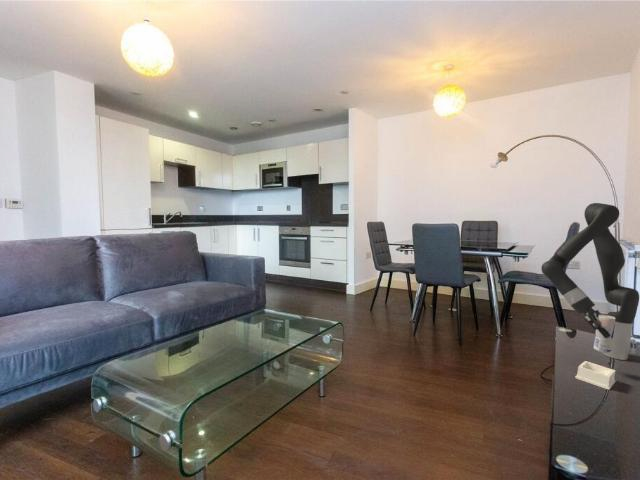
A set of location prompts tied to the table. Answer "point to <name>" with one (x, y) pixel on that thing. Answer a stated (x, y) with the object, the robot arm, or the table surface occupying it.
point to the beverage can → (600, 341)
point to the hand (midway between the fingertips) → (610, 335)
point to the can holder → (596, 375)
